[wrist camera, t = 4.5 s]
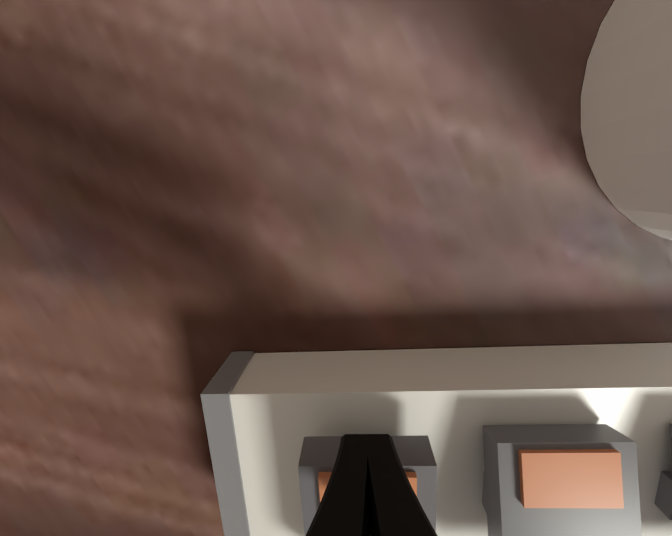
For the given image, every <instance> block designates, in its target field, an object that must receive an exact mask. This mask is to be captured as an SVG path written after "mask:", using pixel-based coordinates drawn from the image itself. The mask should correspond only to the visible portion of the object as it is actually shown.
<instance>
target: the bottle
mask: <svg viewBox="0 0 672 536" xmlns="http://www.w3.org/2000/svg"><path fill="white" fill-rule="evenodd" d="M581 134H582V138H583V143H584V148H585V153H586V158H587V161H588V163H589V166H590V168H591V170H592V172H593V175H594V177H595V179H596V181H597V183H598V186H599V187H600V189H601V190H602V191H603V193H604V194H605V195H606V196H607V198H608V199H609V200H610V202H611V203H612V204H613V205H614V207H615V208H616V209H617V210H618V211H619V212H621V213H622V214H623V215H624V216H626V217H627V218H628V219H629V220H631V221H632V222H633V223H634V224H636V225H637V226H639V227H641V228H643V229H645V230H647V231H649V232H651V233H653V234H655V235H657V236H659V237H661V238H665V239H669V240H672V0H614V2H613V4H612V6H611V7H610V9H609V11H608V13H607V14H606V16H605V18H604V20H603V21H602V23H601V25H600V28H599V31H598V33H597V36H596V39H595V41H594V44H593V47H592V49H591V52H590V55H589V58H588V60H587V65H586V70H585V76H584V81H583V86H582V92H581Z"/></svg>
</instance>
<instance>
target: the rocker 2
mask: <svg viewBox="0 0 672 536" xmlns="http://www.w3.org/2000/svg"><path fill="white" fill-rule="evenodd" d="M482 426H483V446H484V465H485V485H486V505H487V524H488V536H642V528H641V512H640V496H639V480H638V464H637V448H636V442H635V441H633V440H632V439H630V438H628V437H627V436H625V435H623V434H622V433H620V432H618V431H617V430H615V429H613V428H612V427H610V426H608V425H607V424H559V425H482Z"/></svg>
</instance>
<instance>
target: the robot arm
mask: <svg viewBox="0 0 672 536" xmlns="http://www.w3.org/2000/svg"><path fill="white" fill-rule="evenodd" d="M306 536H438V535H437V534H436V532H435V530H434V529H433V527H432V525H431V523H430V521H429V519H428V518H427V516H426V514H425V512H424V510H423V508H422V506H421V504H420V502H419V500H418V498H417V496H416V494H415V492H414V490H413V488H412V486H411V484H410V482H409V480H408V478H407V476H406V473H405V471H404V469H403V466H402V464H401V462H400V459H399V457H398V454H397V451H396V448H395V445H394V442H393V439H392V437H391V436H390V435H389V434H345V435H343V436H342V437H341V441H340V446H339V450H338V454H337V458H336V461H335V464H334V467H333V470H332V473H331V476H330V479H329V482H328V484H327V487H326V489H325V492H324V494H323V497H322V500H321V502H320V505H319V507H318V509H317V512H316V514H315V516H314V518H313V521H312V523H311V525H310V527H309V529H308V531H307V534H306Z"/></svg>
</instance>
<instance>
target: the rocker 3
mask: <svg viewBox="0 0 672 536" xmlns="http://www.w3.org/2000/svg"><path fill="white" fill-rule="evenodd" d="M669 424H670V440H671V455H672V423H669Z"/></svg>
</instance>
